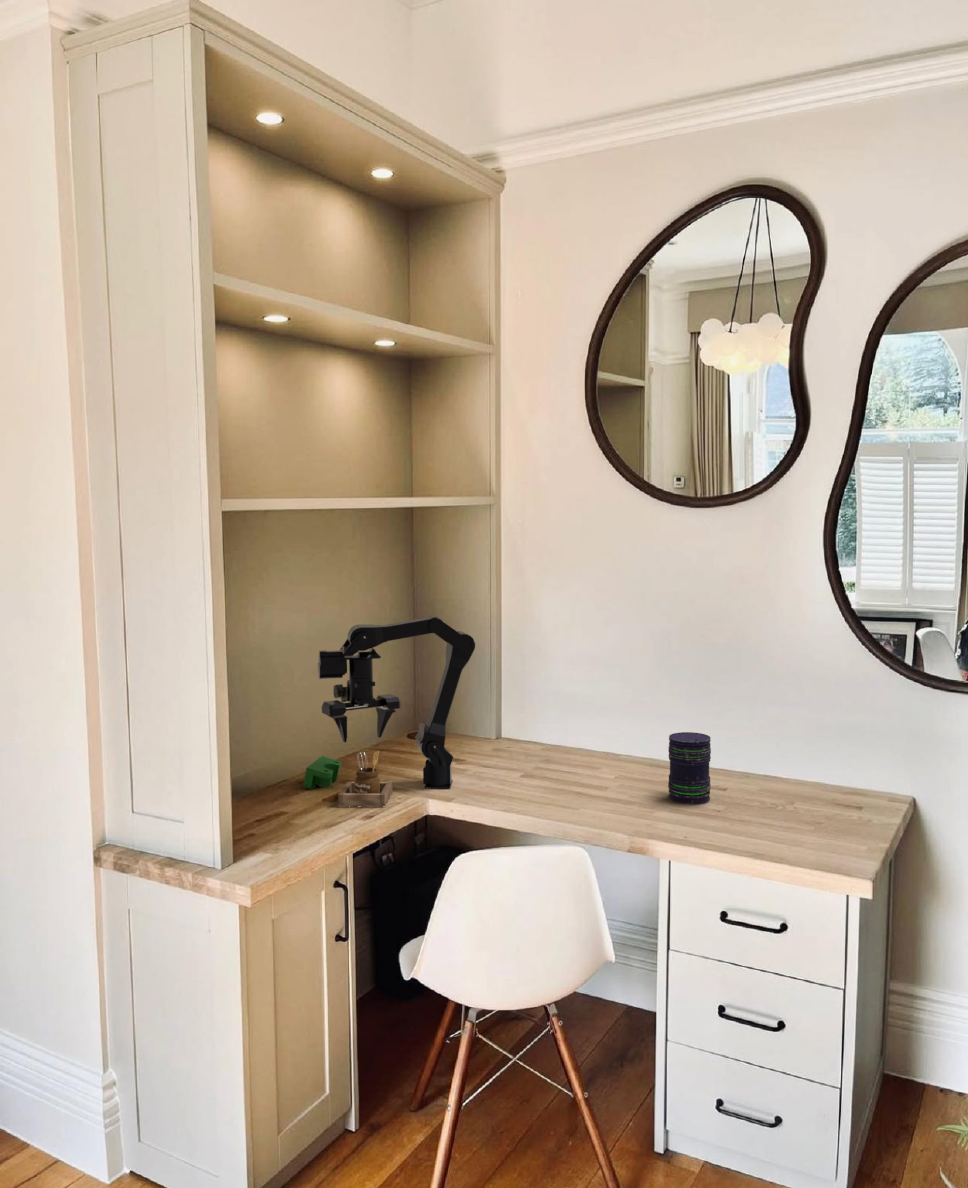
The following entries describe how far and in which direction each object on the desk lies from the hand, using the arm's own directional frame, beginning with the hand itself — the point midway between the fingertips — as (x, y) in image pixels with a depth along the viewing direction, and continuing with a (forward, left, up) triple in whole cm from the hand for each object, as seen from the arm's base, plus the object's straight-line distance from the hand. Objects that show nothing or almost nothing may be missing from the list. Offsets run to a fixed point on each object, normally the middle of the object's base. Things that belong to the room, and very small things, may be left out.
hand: (362, 739), depth 246 cm
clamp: (+11, -6, -13) cm, 19 cm away
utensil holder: (-3, +7, -13) cm, 15 cm away
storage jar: (-79, +3, -13) cm, 80 cm away
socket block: (-2, +7, -14) cm, 15 cm away
